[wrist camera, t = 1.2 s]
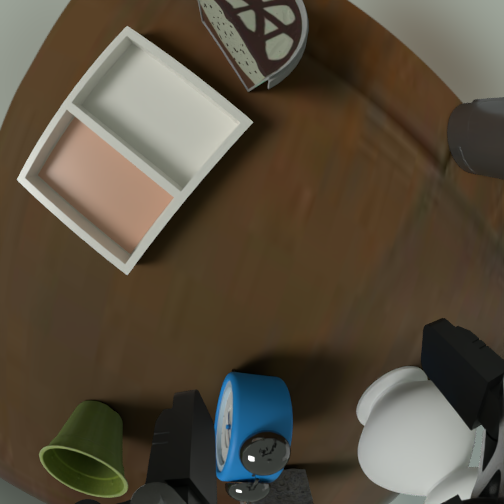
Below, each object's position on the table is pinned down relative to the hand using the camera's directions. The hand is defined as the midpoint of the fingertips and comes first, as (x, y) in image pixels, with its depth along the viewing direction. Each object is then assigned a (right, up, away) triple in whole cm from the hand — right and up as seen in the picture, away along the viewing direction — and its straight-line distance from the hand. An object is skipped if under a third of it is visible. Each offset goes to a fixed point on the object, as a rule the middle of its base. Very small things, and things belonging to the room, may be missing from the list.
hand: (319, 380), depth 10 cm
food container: (-2, +25, +17) cm, 30 cm away
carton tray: (-14, +14, +19) cm, 28 cm away
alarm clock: (-3, -14, +29) cm, 32 cm away
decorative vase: (+20, -18, +33) cm, 42 cm away
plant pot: (-24, -20, +28) cm, 42 cm away
